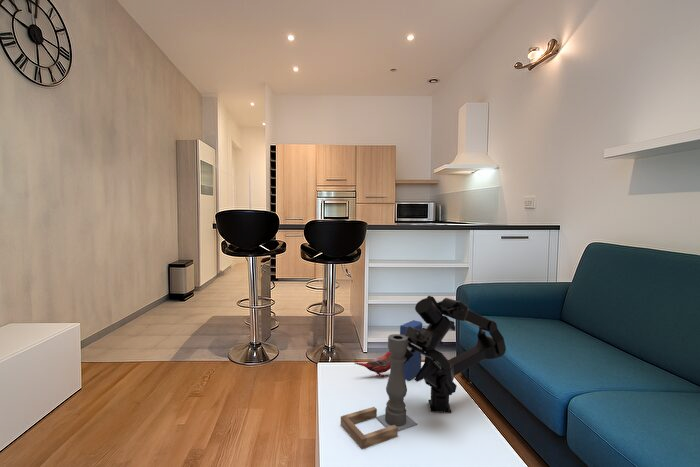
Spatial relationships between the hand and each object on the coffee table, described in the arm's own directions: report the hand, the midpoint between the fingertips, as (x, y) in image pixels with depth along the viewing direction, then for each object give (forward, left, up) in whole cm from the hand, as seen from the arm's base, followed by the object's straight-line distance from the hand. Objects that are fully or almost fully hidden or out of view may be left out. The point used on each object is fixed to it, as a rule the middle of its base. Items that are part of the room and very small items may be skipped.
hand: (405, 374), depth 106 cm
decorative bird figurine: (-26, -9, -14) cm, 31 cm away
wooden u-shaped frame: (+7, -10, -14) cm, 18 cm away
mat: (+2, -3, -14) cm, 14 cm away
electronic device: (-30, +3, -14) cm, 33 cm away
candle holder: (+2, -3, -13) cm, 14 cm away
